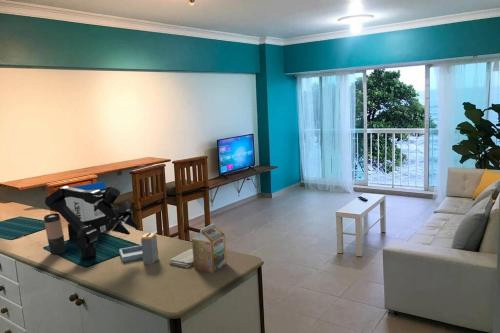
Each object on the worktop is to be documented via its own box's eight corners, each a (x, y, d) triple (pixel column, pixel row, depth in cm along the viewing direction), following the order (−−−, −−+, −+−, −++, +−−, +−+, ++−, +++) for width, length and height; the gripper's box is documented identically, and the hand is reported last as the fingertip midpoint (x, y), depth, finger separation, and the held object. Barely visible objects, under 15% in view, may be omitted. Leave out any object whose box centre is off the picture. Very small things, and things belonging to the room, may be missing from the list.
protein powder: (113, 230, 248) (108, 182, 243) (72, 241, 232) (65, 189, 227) (107, 227, 255) (101, 180, 250) (66, 238, 239) (59, 187, 234)
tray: (123, 262, 198) (122, 257, 197) (119, 253, 209) (119, 249, 209) (149, 257, 203) (149, 252, 202) (145, 249, 214) (144, 244, 214)
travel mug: (69, 249, 218) (63, 213, 214) (57, 255, 211) (50, 218, 207) (59, 248, 221) (52, 212, 217) (47, 254, 214) (40, 217, 210)
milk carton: (212, 272, 181) (210, 231, 178) (194, 268, 186) (191, 228, 183) (226, 264, 190) (224, 224, 187) (208, 260, 195) (205, 221, 192)
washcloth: (167, 265, 193) (167, 259, 192) (191, 252, 208) (190, 246, 208) (188, 269, 187) (187, 263, 186) (210, 255, 202) (210, 249, 202)
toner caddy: (143, 263, 195) (140, 235, 193) (148, 258, 201) (146, 231, 199) (153, 263, 194) (150, 236, 192) (158, 258, 200) (156, 231, 198)
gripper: (108, 202, 188) (135, 224, 187) (126, 193, 206) (150, 213, 206) (95, 220, 190) (121, 242, 190) (114, 209, 208) (138, 229, 208)
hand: (133, 231), depth 198 cm, fingers open, 9 cm apart
